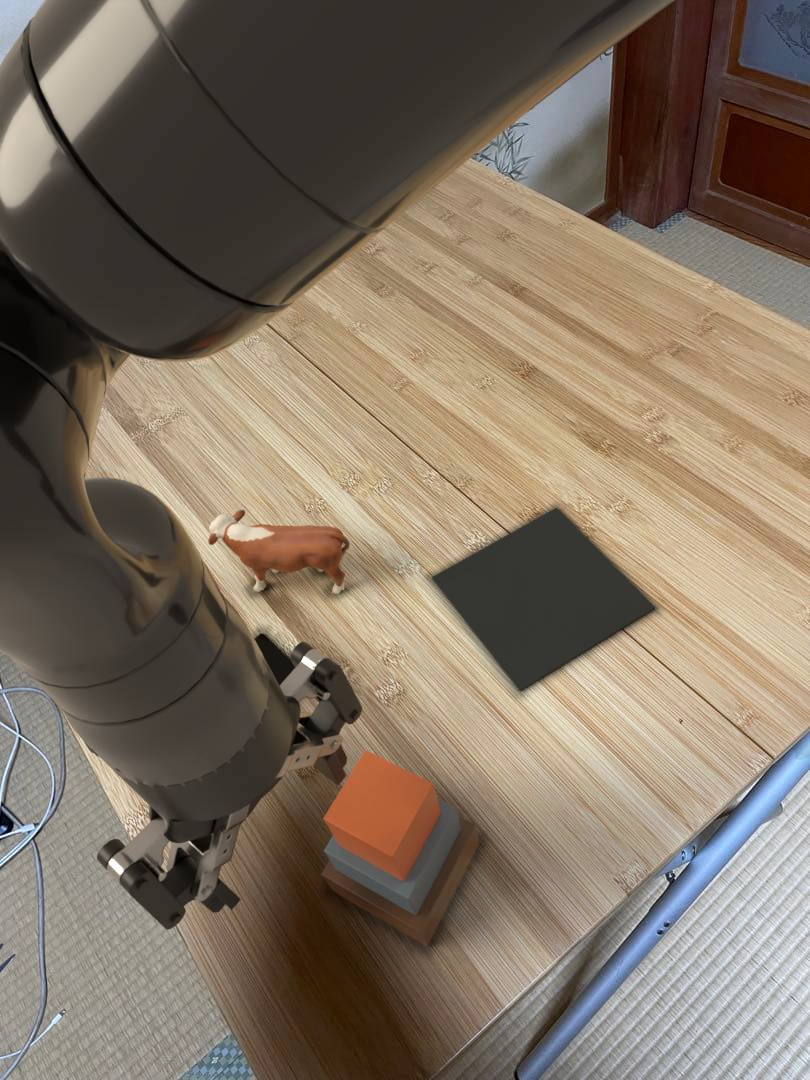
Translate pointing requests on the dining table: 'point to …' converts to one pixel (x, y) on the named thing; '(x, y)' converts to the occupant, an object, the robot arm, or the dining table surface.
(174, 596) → the robot arm
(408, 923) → the base block
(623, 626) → the mat
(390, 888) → the middle block
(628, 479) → the dining table surface
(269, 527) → the bull figurine
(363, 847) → the top block
